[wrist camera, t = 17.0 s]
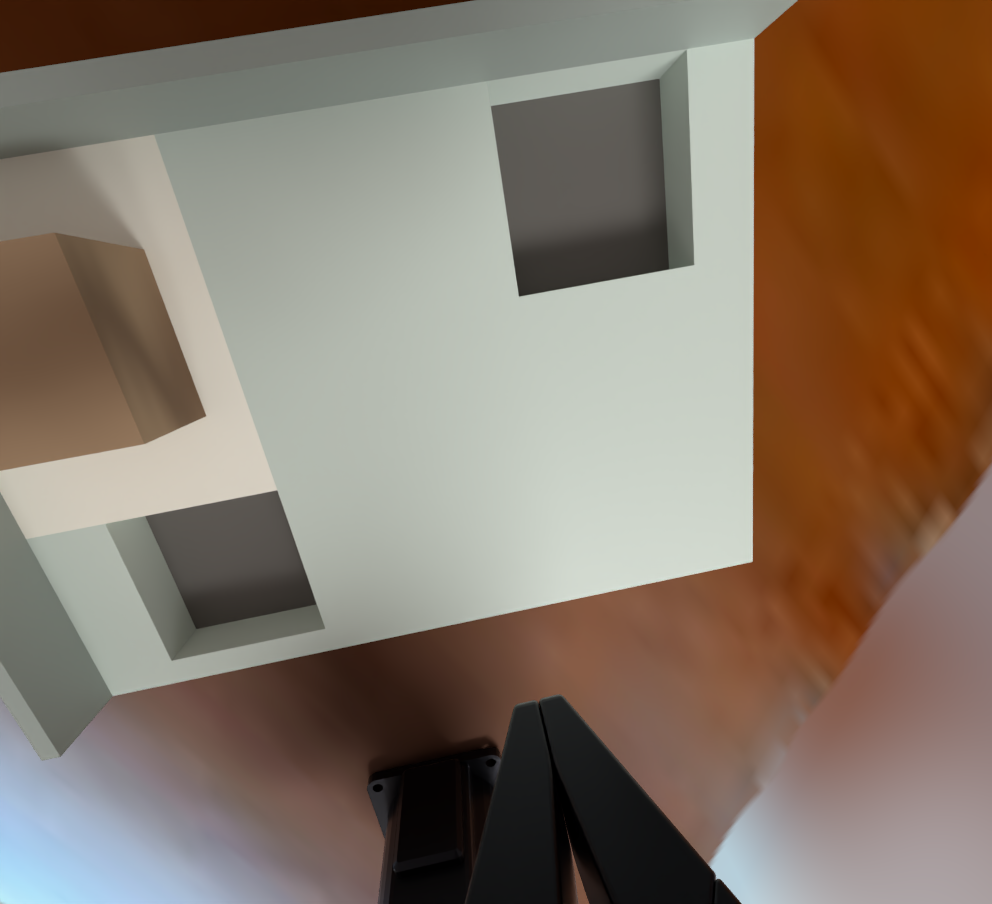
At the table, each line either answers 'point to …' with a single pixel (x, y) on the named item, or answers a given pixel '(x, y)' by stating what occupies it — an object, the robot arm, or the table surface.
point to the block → (85, 352)
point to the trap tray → (392, 333)
